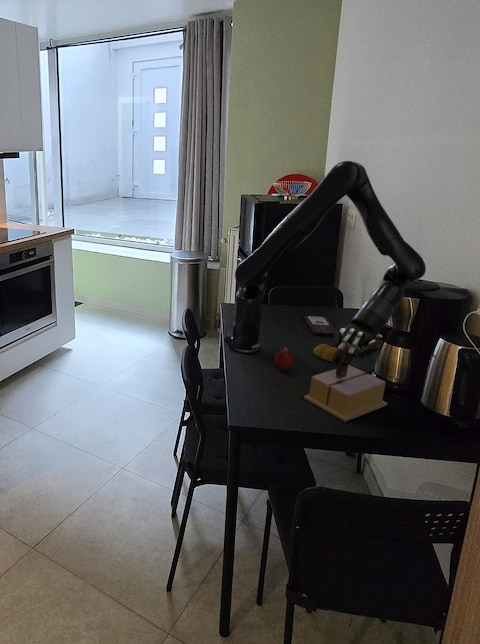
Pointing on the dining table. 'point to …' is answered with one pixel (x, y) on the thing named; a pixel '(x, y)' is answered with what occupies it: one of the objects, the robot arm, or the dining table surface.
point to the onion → (283, 359)
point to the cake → (347, 393)
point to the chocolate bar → (320, 325)
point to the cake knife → (340, 370)
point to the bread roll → (324, 352)
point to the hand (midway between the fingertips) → (337, 363)
